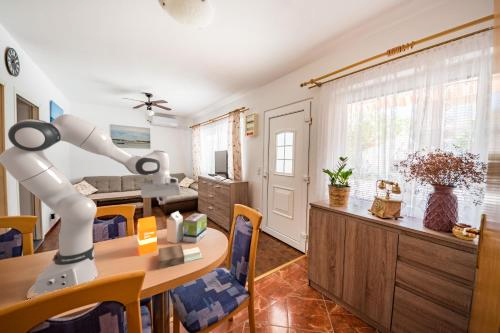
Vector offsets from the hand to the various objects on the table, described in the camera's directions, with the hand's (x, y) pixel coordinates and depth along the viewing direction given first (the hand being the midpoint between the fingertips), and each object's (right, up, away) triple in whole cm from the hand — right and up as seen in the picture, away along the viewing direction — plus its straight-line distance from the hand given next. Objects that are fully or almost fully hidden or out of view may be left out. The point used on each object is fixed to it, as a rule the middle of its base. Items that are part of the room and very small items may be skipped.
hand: (161, 204), depth 107 cm
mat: (+17, -29, +2) cm, 34 cm away
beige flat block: (+16, -29, +1) cm, 33 cm away
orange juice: (-11, -29, +6) cm, 31 cm away
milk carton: (0, -28, +19) cm, 34 cm away
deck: (+7, -30, -3) cm, 30 cm away
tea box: (+12, -28, +24) cm, 39 cm away
